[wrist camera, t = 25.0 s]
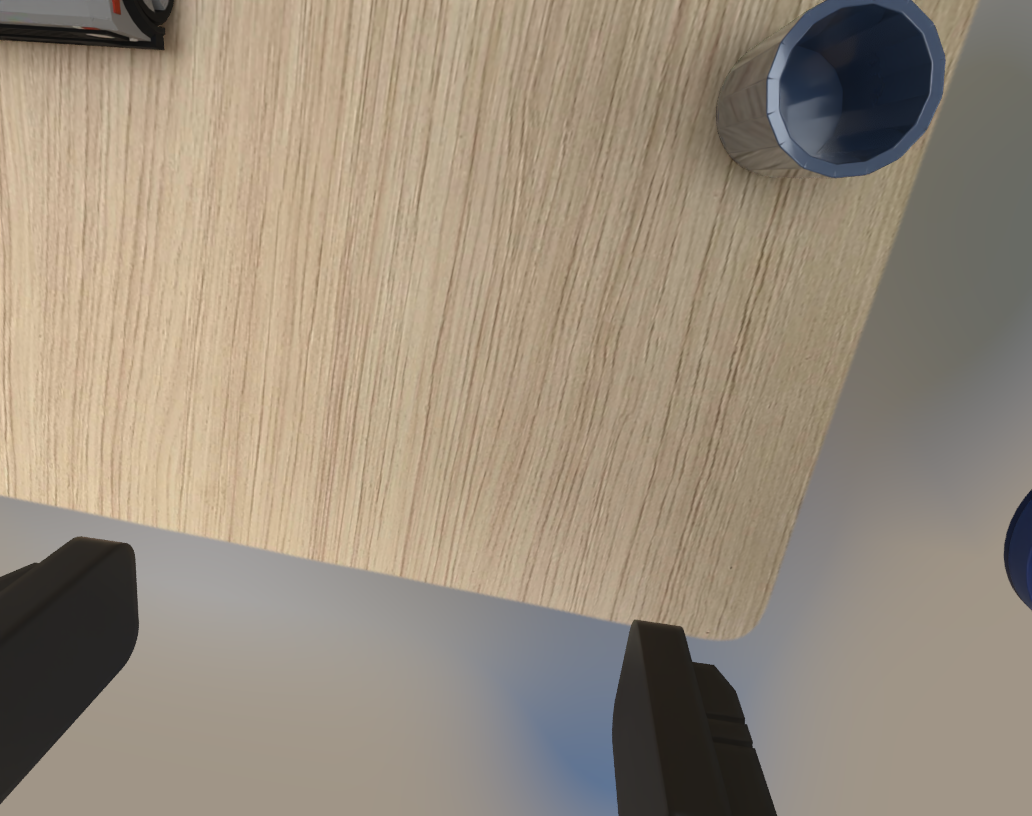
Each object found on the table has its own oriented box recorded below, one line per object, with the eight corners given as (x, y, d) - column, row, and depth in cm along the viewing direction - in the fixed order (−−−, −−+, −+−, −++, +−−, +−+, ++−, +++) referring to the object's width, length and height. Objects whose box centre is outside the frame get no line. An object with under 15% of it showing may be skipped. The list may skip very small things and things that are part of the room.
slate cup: (876, 98, 33) (982, 72, 25) (779, 203, 35) (849, 212, 27) (782, 7, 33) (861, -53, 24) (689, 119, 34) (730, 100, 26)
